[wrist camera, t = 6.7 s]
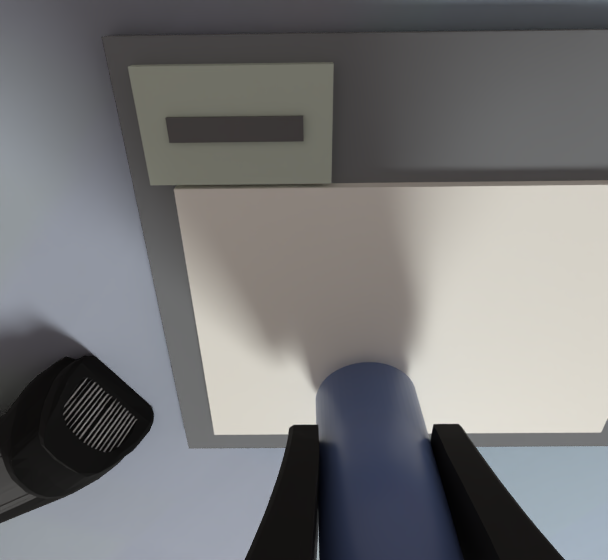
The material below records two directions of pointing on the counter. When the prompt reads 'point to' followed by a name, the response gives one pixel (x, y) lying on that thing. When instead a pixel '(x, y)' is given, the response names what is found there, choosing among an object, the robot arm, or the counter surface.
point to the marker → (378, 471)
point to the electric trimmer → (66, 433)
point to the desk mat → (387, 144)
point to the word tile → (235, 122)
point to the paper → (403, 298)
